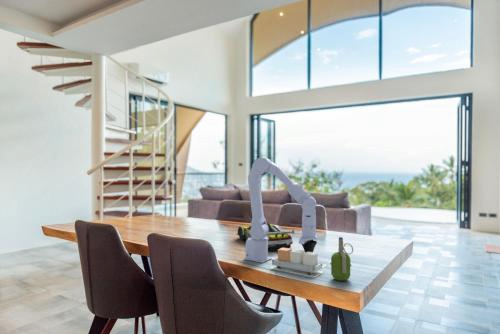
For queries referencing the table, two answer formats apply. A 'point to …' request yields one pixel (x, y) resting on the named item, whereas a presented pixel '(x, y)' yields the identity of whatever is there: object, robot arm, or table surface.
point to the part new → (284, 254)
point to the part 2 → (310, 259)
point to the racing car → (270, 236)
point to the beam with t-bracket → (297, 266)
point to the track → (298, 271)
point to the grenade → (341, 263)
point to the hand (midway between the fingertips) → (308, 258)
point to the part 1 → (296, 256)
